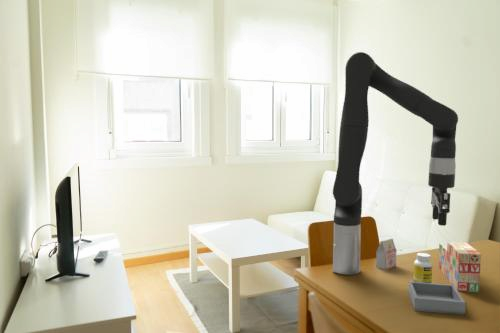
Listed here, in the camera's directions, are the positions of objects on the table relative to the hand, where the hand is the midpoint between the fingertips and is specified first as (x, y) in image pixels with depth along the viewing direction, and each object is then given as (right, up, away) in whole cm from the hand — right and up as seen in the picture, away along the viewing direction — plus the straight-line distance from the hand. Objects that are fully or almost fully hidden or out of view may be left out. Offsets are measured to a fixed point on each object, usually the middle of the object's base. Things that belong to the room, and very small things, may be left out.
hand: (438, 222), depth 126 cm
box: (-8, -21, -13) cm, 26 cm away
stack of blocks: (+9, -20, +5) cm, 22 cm away
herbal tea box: (-11, -19, +18) cm, 28 cm away
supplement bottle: (-5, -20, +1) cm, 21 cm away
